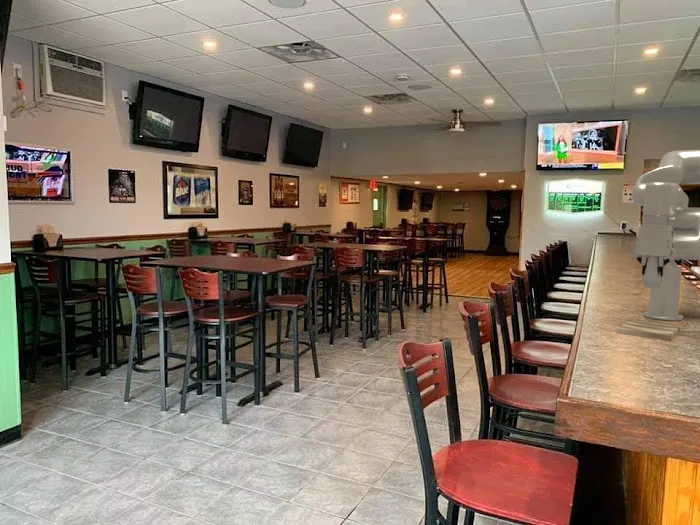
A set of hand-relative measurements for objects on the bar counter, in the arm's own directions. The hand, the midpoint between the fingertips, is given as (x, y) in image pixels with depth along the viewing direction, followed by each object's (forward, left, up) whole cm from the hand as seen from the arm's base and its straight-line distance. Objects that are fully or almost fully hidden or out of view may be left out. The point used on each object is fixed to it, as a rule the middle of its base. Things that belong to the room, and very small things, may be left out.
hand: (652, 277), depth 170 cm
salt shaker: (0, 0, -3) cm, 3 cm away
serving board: (0, 0, -18) cm, 18 cm away
